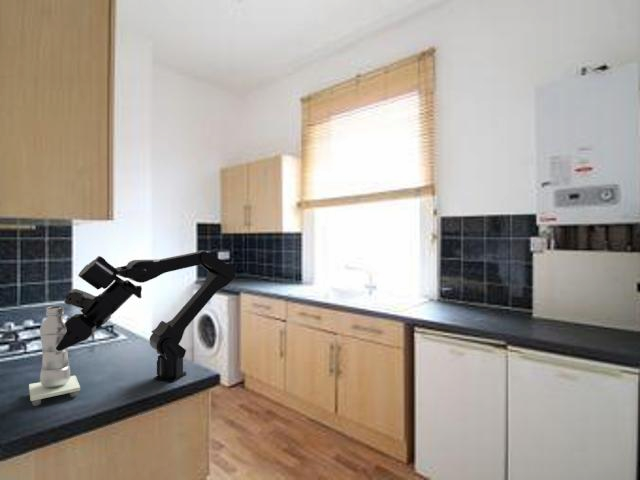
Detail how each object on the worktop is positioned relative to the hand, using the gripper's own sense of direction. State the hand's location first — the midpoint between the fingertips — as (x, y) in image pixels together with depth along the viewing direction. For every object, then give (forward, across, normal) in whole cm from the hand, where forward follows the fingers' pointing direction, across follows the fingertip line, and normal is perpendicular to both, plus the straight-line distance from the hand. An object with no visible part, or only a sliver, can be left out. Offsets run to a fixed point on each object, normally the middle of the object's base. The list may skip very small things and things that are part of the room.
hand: (64, 344), depth 97 cm
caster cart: (+11, 0, +8) cm, 13 cm away
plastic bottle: (+9, 0, +6) cm, 11 cm away
